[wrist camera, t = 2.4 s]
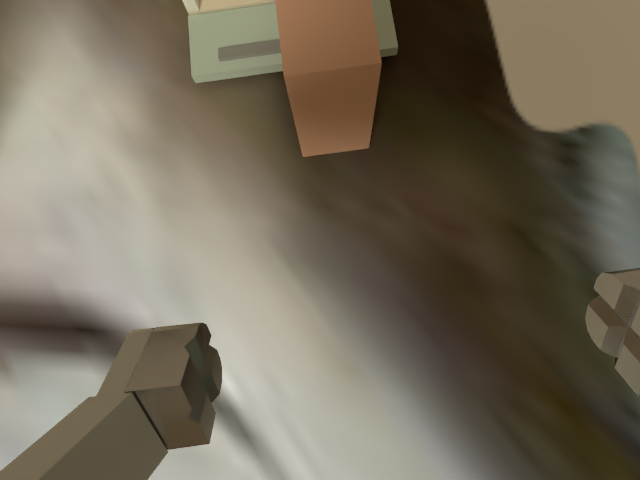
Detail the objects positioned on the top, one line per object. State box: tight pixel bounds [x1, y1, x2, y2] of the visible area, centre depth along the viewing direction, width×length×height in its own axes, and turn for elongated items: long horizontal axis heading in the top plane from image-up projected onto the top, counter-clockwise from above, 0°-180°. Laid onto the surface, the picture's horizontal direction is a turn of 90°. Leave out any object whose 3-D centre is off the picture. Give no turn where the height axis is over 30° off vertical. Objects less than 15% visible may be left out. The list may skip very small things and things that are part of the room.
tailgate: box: [188, 0, 398, 83], centre depth 28 cm, size 14×1×5 cm
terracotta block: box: [275, 0, 382, 157], centre depth 23 cm, size 4×4×9 cm
